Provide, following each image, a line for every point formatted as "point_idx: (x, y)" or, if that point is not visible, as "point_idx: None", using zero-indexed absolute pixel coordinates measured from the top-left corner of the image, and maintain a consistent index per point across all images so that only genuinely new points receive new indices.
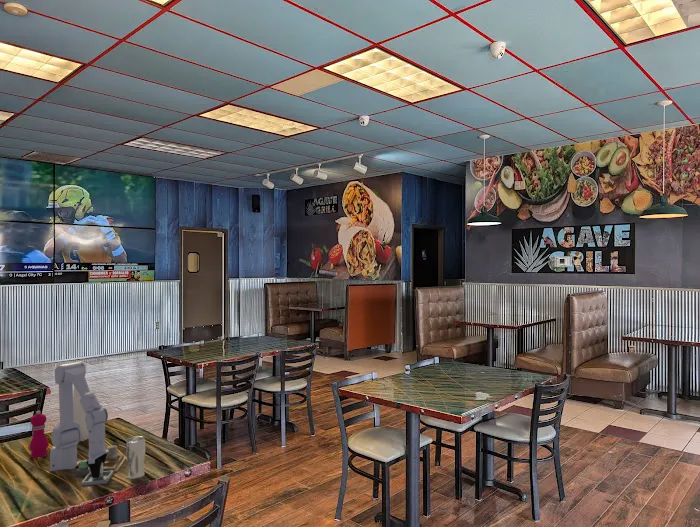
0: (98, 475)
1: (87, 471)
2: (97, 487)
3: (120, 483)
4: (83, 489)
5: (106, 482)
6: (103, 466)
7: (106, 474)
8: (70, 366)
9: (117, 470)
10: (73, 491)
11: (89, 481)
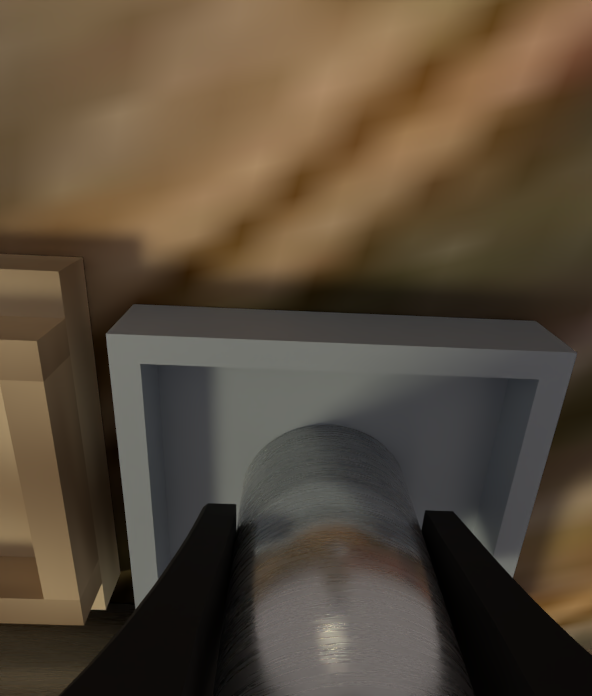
0: (473, 539)
1: None
2: (570, 432)
3: (586, 79)
4: (550, 573)
5: (554, 341)
6: (206, 575)
7: (159, 417)
8: None
9: (25, 266)
10: None
11: None
